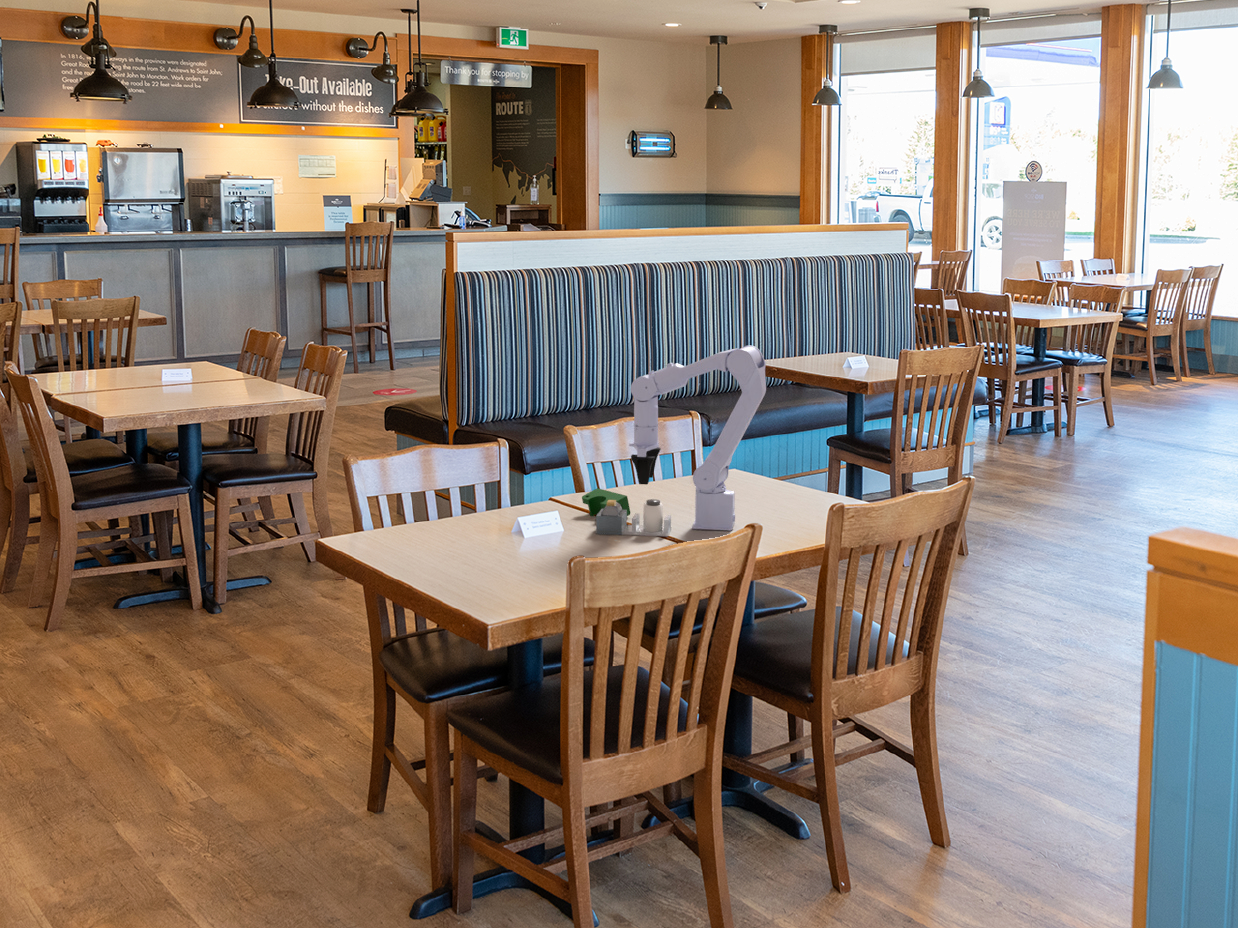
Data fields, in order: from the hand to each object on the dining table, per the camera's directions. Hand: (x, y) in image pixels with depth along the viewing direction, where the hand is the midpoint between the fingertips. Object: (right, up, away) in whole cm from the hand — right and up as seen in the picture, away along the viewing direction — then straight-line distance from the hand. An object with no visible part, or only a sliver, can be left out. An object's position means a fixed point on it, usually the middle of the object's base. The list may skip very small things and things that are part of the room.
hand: (645, 480), depth 297 cm
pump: (+1, -11, -9) cm, 15 cm away
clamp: (-10, -9, +6) cm, 15 cm away
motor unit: (-3, -12, -8) cm, 15 cm away
